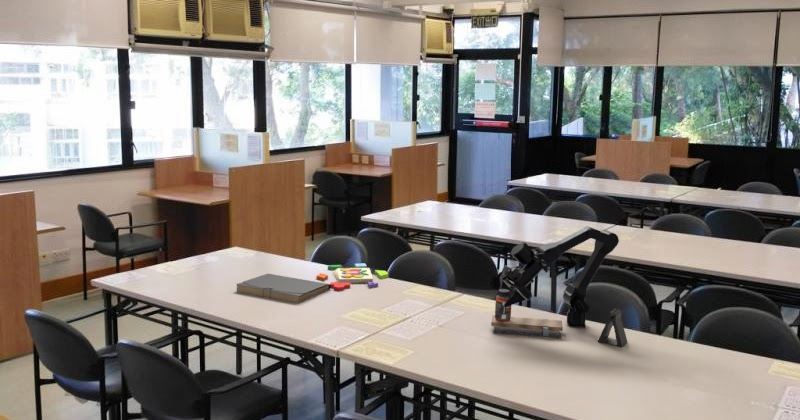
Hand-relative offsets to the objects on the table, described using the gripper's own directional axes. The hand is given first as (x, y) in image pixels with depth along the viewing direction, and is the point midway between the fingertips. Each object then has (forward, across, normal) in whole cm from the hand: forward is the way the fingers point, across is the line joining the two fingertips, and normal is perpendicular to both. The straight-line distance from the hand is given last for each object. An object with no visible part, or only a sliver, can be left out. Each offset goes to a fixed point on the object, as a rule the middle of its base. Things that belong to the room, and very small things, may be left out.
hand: (500, 302), depth 274 cm
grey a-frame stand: (-17, +21, +33) cm, 43 cm away
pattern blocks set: (+36, -82, -20) cm, 92 cm away
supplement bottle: (+4, 0, +6) cm, 7 cm away
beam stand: (+1, +4, +14) cm, 15 cm away
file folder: (+60, -66, -44) cm, 100 cm away
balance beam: (-1, +4, +13) cm, 13 cm away
